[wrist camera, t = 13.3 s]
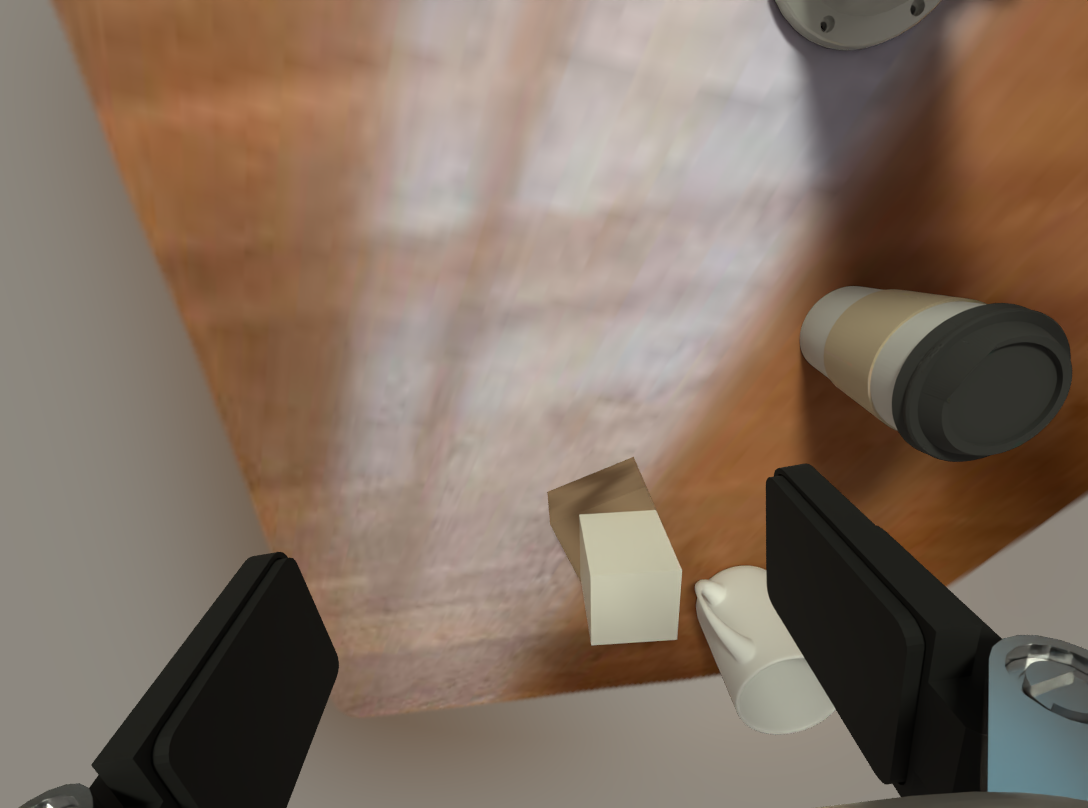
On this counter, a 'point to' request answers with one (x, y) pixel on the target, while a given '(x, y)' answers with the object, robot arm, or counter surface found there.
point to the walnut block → (596, 502)
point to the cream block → (628, 578)
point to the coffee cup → (942, 366)
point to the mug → (758, 654)
